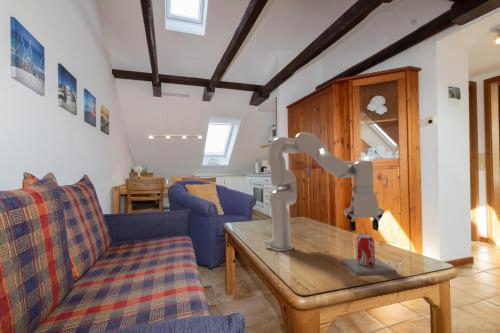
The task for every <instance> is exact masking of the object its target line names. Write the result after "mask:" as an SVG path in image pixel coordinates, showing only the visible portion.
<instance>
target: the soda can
mask: <svg viewBox="0 0 500 333" xmlns="http://www.w3.org/2000/svg"><path fill="white" fill-rule="evenodd" d="M355 250H356V251H355V252H356V253H355V254H356V255H355V256H356V259H357V262H358V263H359V264H360V265H362V266H372V265H374V264H375V258H376V256H375V255H376V252H375V250H376V248H375V240H374V238H373V235H371V234H367V233H360V234H359V233H358V234H357V236H356V238H355Z"/></svg>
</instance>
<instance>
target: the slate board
mask: <svg viewBox="0 0 500 333" xmlns="http://www.w3.org/2000/svg"><path fill="white" fill-rule="evenodd" d="M341 263H342V264H343V265H345V266H346V267H347V268H348V269H349V271H351V272H352V273H354V274H355V275H356V276H360V275H361V276H364V275H384V274H385V275H386V274H387V275H388V274H397V270H396V269H395V268H393V267H392V266H390V265H388V264H387V263H386V262H384V261H383V260H380V259H379V258H378V257H375V264H374V265H372V266H362V265H360V264H359V263H358V262H357V258H344V259H343V258H341Z"/></svg>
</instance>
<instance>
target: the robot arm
mask: <svg viewBox="0 0 500 333" xmlns="http://www.w3.org/2000/svg"><path fill="white" fill-rule="evenodd" d="M299 153H306V154H307V155H308V156H310V157H311V158H313V159H314V160H315V161H316V164H318V165H319V166H320V167H321V168H322V170H324V171H326V172H328V173H329V174H331V175H332V176H333V177H336V178H338V179H343V178H353V186H351V187H350V190H351V191H352V195H351V199H350V206H349V207H348V208H345V209H344V210H343V211H342V212H343V214H344V215H345V218H347V220H348V221H349V229H350V230H351V231H352V232H356V219H357V218H372V223H371V224H372V228H371V229H372V230H374V231H377V232H378V231H379V227H380V226H379V222H380V221H381V219H382V218H383V215H384V213H385V209H382V208H380V207H379V204H378V197H377V194H376V193H375V192H374V163H373V162H372V161H371V160H357V161H352V160H342V159H340V158H339V157H337V156H335V154H333V153H331V152H330V151H329V148H328V145H327V144H325V143H324V142H322V141H321V140H319V138H318V136H317V135H315V134H314V133H311V132H306V131H301V132H299V133H297V134H296V135H295V137H294V138H291V137H285V136H280V137H276V138H275V137H274V139H273V140H272V141H271V142H270V143H269V147H268V158H269V169H270V170H269V171H270V181H271V185H272V186H274V187H277V188H278V189H275V190H273V191H271V193H270V194H269V204H270V210H271V211H270V212H271V228H272V230H271V231H272V236H271V239H269V240H266V239H265V240H263V244H264V245H267V246H269V248H270V250H273V251H276V252H288V251H291V250H293V249H294V245H293V244H292V243H291V230H290V227H291V226H290V225H291V223H290V213H289V209H288V206H291V205H294V204H295V203H296V202H297V199H298V190H297V177H296V175H295V173H294V172H293V170H290V169H287V166H286V159H285V156H284V155H283V154H294V155H295V154H299ZM280 187H281V189H279V188H280ZM349 212H350V214H349Z"/></svg>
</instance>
